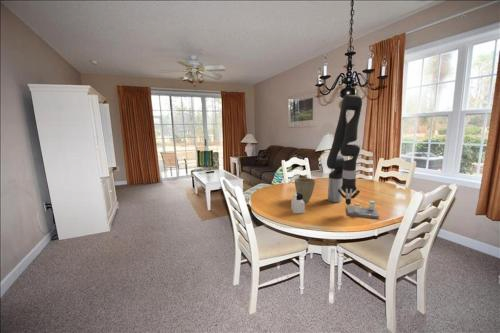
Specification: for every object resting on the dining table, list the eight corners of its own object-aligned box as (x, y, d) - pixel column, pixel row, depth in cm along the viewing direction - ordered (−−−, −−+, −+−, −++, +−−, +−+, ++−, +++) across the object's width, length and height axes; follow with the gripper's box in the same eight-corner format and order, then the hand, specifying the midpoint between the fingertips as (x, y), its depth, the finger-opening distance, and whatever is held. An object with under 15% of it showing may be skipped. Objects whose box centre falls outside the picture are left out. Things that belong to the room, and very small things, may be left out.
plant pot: (315, 204, 152) (316, 182, 150) (294, 203, 155) (294, 182, 153) (313, 197, 167) (314, 177, 164) (294, 197, 170) (294, 177, 167)
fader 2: (369, 209, 135) (370, 202, 134) (369, 208, 137) (369, 200, 137) (374, 210, 134) (374, 202, 133) (373, 208, 136) (374, 201, 136)
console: (347, 215, 132) (348, 212, 132) (347, 208, 144) (347, 205, 144) (378, 218, 126) (378, 216, 126) (375, 210, 138) (375, 208, 137)
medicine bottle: (301, 209, 144) (302, 192, 142) (304, 213, 137) (305, 195, 135) (291, 209, 144) (291, 192, 142) (293, 213, 137) (293, 195, 135)
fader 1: (354, 212, 132) (355, 204, 131) (354, 210, 134) (354, 202, 134) (359, 212, 131) (359, 204, 130) (358, 210, 133) (359, 203, 133)
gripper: (337, 178, 130) (336, 205, 132) (362, 178, 125) (360, 207, 128) (337, 175, 137) (336, 201, 139) (360, 176, 132) (359, 203, 135)
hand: (348, 204), depth 134 cm, fingers closed
